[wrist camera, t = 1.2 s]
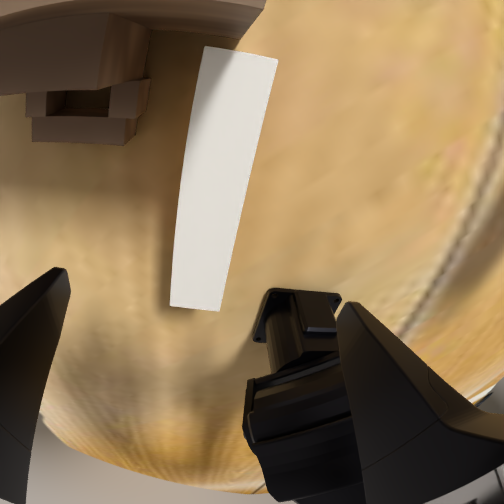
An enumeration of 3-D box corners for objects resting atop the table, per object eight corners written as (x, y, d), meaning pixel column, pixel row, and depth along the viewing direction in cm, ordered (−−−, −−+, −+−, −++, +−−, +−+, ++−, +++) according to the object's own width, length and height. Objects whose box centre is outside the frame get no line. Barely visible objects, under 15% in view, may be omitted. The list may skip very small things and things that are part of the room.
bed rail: (218, 261, 22) (219, 311, 18) (177, 256, 22) (169, 305, 18) (263, 60, 14) (278, 59, 10) (209, 51, 14) (204, 45, 10)
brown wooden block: (217, 144, 17) (214, 233, 9) (-2, 131, 14) (-100, 198, 6) (248, 8, 12) (281, -52, 4) (7, 16, 9) (-103, 27, 1)
